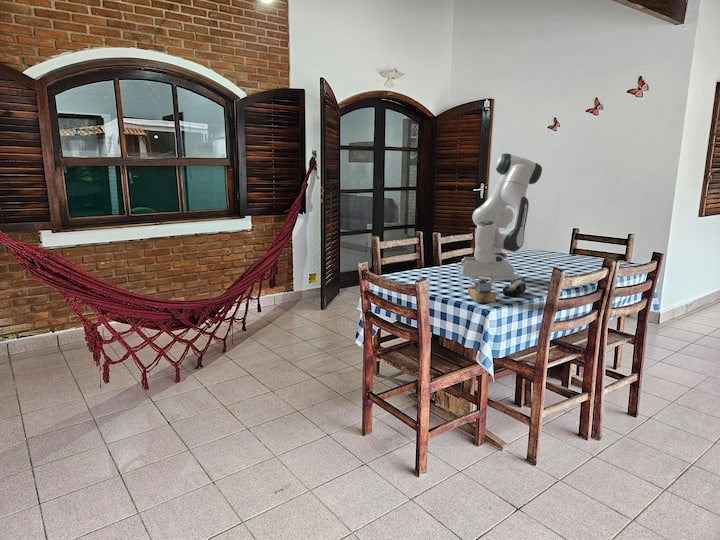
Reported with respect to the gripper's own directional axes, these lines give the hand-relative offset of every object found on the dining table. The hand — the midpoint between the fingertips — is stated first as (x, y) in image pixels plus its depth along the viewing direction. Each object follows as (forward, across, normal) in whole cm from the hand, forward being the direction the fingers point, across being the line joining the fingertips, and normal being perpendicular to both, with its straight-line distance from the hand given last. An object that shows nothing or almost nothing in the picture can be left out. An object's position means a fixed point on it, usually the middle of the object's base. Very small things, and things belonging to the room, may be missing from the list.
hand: (482, 286), depth 230 cm
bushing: (+6, +6, +11) cm, 14 cm away
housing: (+2, 0, 0) cm, 2 cm away
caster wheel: (+6, +18, +5) cm, 19 cm away
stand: (+6, 0, 0) cm, 6 cm away
